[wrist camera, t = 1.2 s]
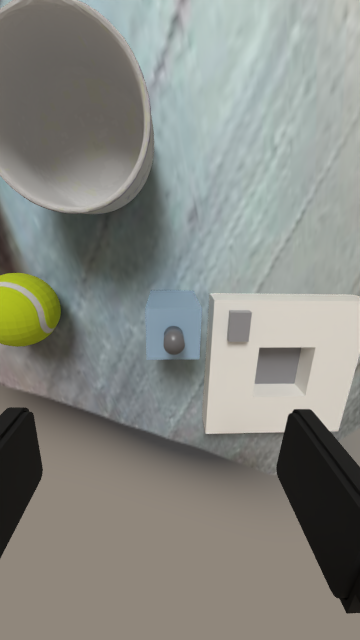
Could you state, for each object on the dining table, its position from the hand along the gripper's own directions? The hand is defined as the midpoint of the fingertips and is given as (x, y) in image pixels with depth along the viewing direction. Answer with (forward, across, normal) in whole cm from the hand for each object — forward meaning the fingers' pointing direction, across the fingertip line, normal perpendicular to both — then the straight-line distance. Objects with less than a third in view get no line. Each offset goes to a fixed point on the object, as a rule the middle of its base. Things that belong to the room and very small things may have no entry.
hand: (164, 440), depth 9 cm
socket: (+19, -13, +6) cm, 23 cm away
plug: (+19, -1, 0) cm, 19 cm away
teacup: (+19, +7, -15) cm, 25 cm away
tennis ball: (+19, +13, 0) cm, 23 cm away
